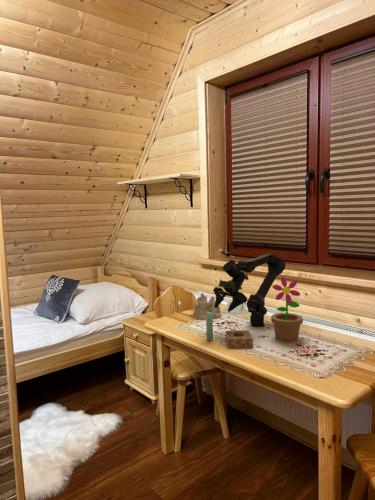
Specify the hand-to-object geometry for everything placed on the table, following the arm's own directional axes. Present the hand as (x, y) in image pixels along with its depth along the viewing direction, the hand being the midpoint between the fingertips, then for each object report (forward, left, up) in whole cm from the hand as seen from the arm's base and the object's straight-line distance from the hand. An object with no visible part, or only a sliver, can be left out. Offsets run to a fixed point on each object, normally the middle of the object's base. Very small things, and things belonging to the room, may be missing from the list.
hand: (221, 309), depth 176 cm
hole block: (-7, +10, -13) cm, 18 cm away
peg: (+6, +5, -13) cm, 15 cm away
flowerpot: (-30, +5, -13) cm, 33 cm away
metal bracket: (-12, -44, -14) cm, 47 cm away
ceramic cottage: (+6, -34, -13) cm, 37 cm away
